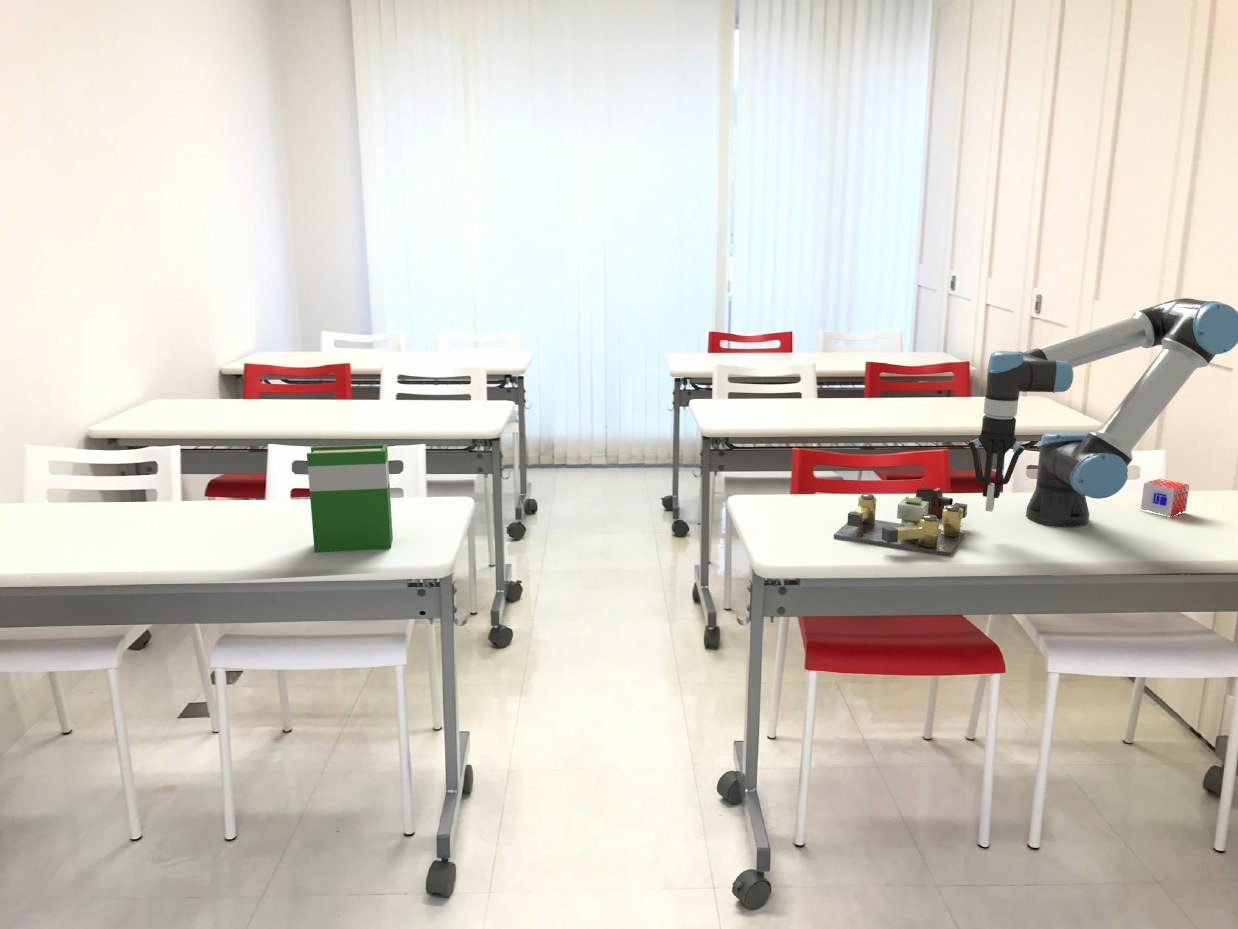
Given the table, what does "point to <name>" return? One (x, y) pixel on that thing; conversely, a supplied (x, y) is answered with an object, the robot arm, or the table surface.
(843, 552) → the table surface
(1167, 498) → the red and white box
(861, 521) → the knob
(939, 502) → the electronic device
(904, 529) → the knob
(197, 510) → the table surface
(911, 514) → the valve board
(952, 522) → the knob
